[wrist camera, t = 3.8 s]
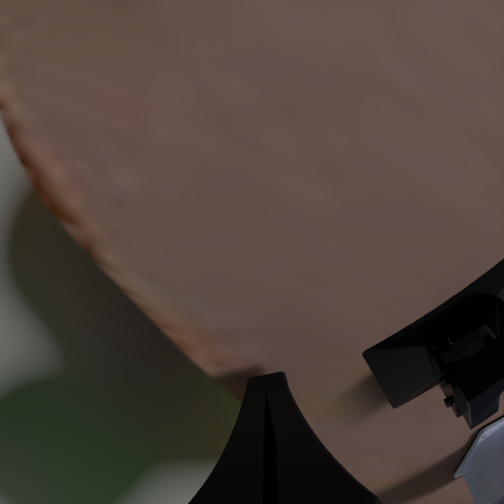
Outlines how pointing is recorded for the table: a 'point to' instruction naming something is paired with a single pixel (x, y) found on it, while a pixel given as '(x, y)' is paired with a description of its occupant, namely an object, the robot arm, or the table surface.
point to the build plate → (450, 352)
